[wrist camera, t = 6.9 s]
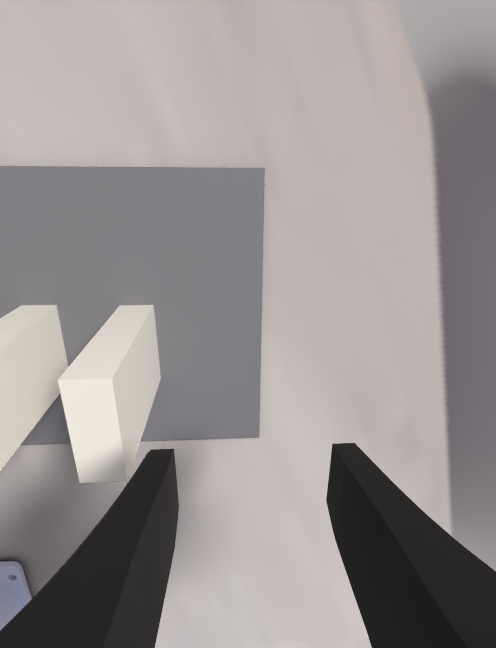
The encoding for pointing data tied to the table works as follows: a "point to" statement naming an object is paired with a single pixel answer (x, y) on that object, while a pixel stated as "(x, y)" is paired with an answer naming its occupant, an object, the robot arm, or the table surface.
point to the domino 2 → (112, 394)
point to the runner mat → (147, 280)
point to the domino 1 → (28, 371)
